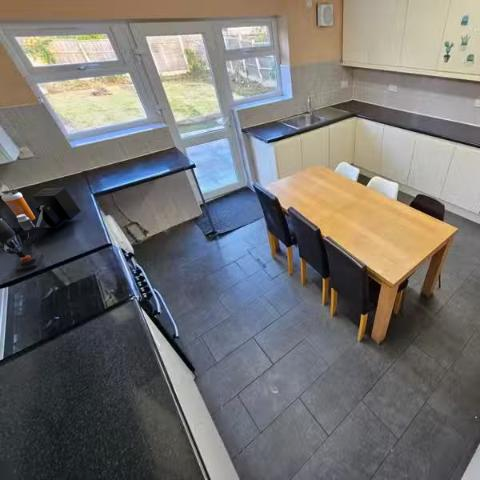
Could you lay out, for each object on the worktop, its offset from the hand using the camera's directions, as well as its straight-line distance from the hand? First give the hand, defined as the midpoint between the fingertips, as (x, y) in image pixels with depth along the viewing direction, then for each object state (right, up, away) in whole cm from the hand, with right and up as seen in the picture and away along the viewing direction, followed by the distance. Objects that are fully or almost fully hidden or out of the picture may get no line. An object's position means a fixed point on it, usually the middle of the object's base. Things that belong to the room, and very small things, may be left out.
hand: (23, 256), depth 140 cm
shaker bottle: (-38, +22, +37) cm, 57 cm away
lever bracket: (-16, +18, +33) cm, 41 cm away
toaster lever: (-15, +22, +24) cm, 36 cm away
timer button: (0, -2, +2) cm, 2 cm away
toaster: (-16, +25, +41) cm, 50 cm away
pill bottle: (-29, +16, +30) cm, 45 cm away
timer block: (0, -4, +4) cm, 6 cm away
